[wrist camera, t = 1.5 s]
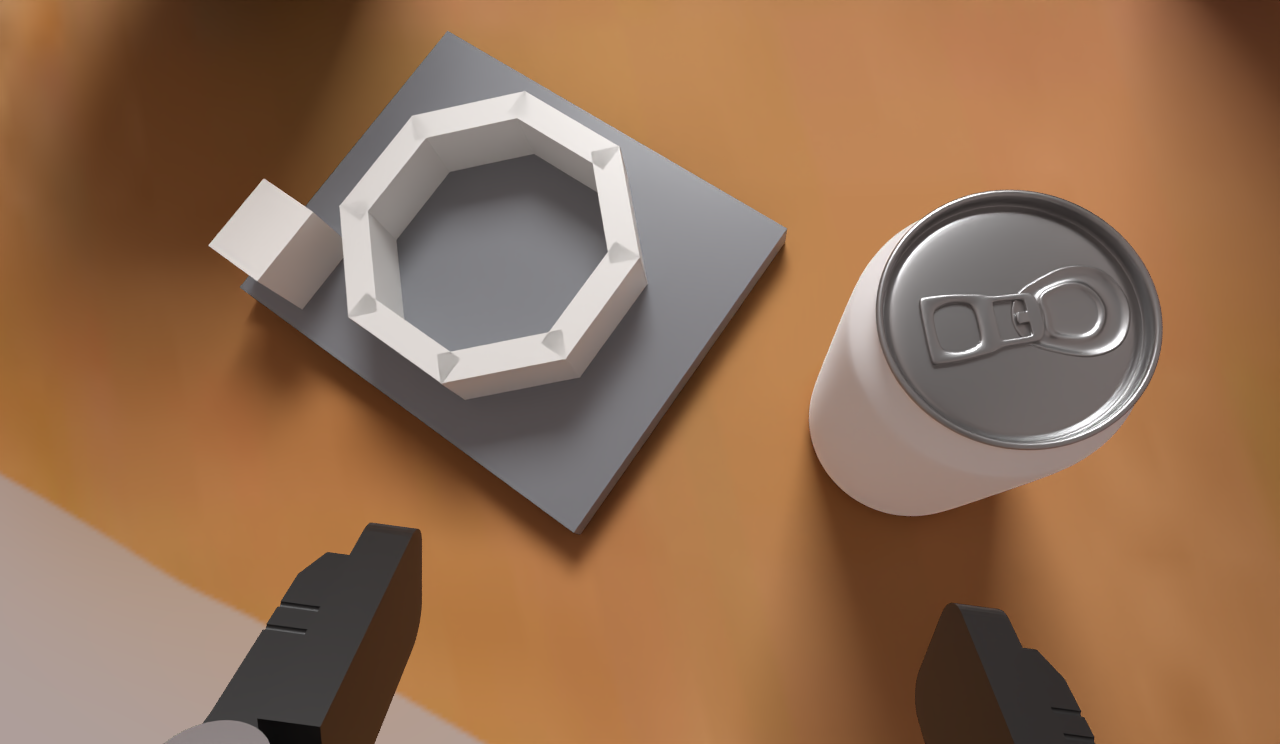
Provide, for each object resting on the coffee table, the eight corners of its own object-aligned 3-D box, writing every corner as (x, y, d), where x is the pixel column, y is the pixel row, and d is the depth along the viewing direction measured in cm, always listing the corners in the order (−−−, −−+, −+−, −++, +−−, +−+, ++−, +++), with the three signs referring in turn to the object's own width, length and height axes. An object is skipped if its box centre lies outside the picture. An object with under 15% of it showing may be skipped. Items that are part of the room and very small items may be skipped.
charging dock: (457, 49, 34) (419, -23, 30) (785, 241, 30) (792, 190, 26) (257, 297, 32) (188, 257, 28) (580, 534, 29) (554, 527, 25)
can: (1020, 505, 27) (1228, 448, 16) (823, 529, 28) (887, 491, 16) (976, 321, 29) (1137, 148, 17) (792, 347, 29) (829, 195, 18)
